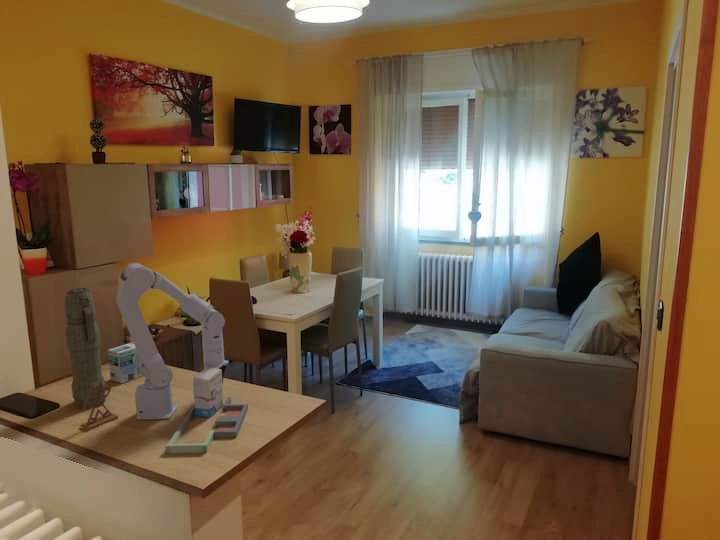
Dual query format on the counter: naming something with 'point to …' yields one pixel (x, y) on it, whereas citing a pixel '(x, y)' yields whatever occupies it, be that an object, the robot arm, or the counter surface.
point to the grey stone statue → (83, 346)
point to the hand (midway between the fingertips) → (216, 390)
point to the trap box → (226, 428)
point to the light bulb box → (124, 363)
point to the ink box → (208, 392)
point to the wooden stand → (106, 416)
